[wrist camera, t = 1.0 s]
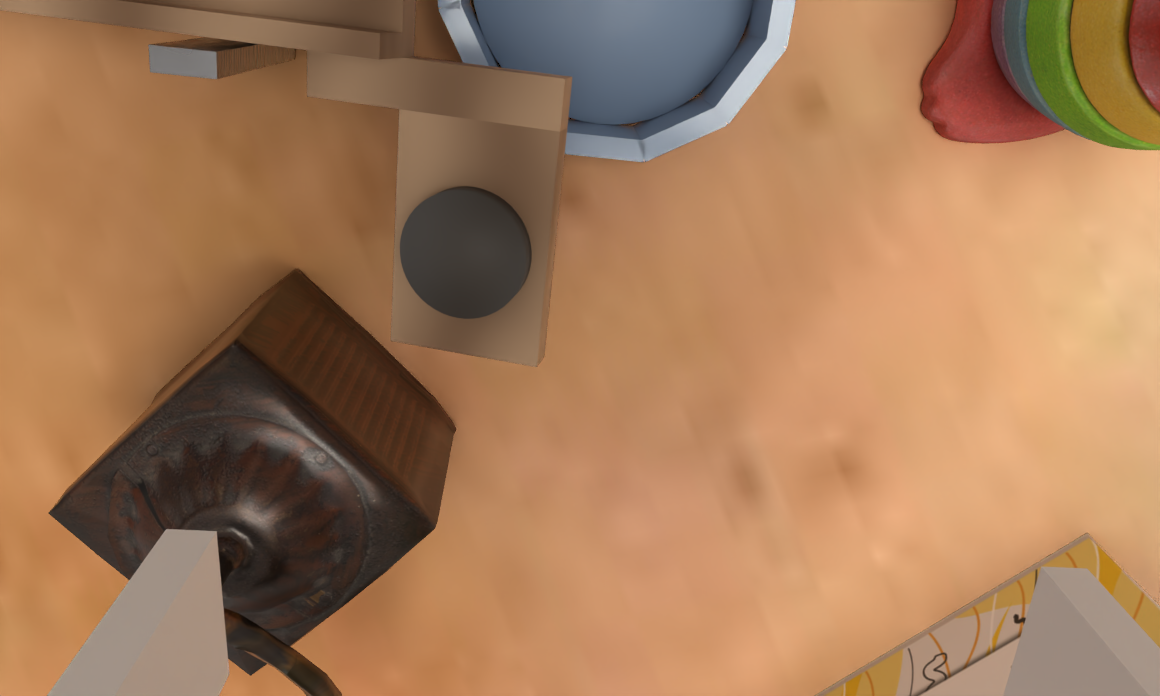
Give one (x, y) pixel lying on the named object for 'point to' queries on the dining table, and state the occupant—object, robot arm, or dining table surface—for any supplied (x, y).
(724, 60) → the bowl
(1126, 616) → the robot arm
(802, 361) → the dining table surface
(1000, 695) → the pasta box
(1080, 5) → the stacking bear
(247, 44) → the stand
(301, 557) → the brown manual coffee grinder
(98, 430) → the dining table surface
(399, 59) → the lever
